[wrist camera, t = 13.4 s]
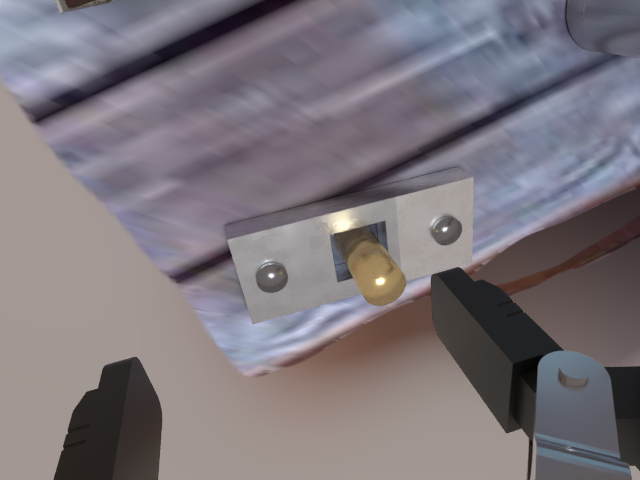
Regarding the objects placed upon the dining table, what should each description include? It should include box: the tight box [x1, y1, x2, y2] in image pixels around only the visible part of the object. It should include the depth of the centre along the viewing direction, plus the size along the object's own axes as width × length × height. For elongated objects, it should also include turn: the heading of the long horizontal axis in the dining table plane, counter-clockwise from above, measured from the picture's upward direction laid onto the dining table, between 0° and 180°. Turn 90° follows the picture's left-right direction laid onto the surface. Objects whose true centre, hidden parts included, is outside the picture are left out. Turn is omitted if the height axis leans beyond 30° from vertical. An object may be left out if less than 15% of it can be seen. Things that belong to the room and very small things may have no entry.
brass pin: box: [334, 225, 406, 306], centre depth 43 cm, size 4×4×9 cm
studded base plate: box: [225, 167, 474, 324], centre depth 46 cm, size 24×10×4 cm, turn 99°
